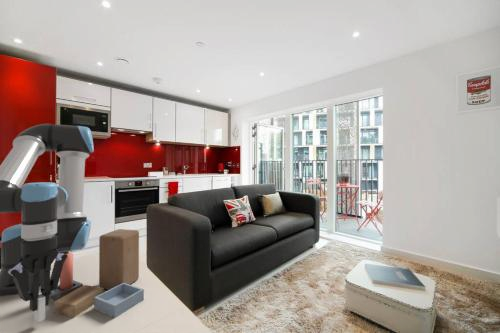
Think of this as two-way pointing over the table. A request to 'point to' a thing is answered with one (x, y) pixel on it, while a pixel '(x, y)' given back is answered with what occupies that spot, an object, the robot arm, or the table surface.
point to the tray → (118, 299)
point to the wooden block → (118, 258)
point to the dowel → (67, 273)
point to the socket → (59, 293)
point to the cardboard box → (77, 301)
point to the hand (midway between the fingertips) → (39, 319)
